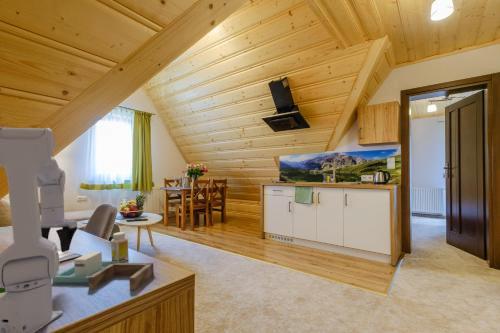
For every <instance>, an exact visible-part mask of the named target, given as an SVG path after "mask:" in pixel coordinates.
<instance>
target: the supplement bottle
mask: <svg viewBox="0 0 500 333" xmlns="http://www.w3.org/2000/svg"><path fill="white" fill-rule="evenodd" d="M128 239H129V238H128V237H127V236H126V232H124V231H118V232H115V233H113V235H112V239H111V240H110V247H111V248H110V249H111V252H110V253H111V261H119V263H125V262H126V261H127V260H129V240H128Z"/></svg>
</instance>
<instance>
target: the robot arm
mask: <svg viewBox="0 0 500 333" xmlns="http://www.w3.org/2000/svg"><path fill="white" fill-rule="evenodd" d="M55 151H56V136H55V133H54V131H53V130H52V129H51V128H50V127H46V128H33V127H32V128H30V127H4V126H0V167H1V168H4V170H5V174H6V177H7V178H6V179H7V187H8V198H9V199H8V200H9V205H10V206H9V208H10V209H9V210H10V217H11V227H12V236H13V243H12V244H11V245H9V246H8V247H6V248H5V249H3V250H2V251H1V252H0V288H2V289H4V292H5V294H3V295H2V296H1V297H0V333H36V332H38V331H39V330H41V329H42V328H43V327H45V326H46V325H48V324H49V323H51V322H53V321H54V320H55V319H57V318H58V317H60V316H61V315H62V314H63V311H62V310H54V309H53V288H52V286H53V285H52V284H53V281H52V280H53V278H55V276H56V275H58V274H59V271H60V255H59V252H58V247H57V246H58V245H56V242H54V241H53V240H50V239H49V237H50V236H49V235H50V230H51V228H52V229H53V228H54V229H55V228H57V229H56V230H55V231H56V234H57V236H58V238H59V242H60V243H59V244H60V251H61V253H66V252H67V251H69V250H70V247H71V243H72V241H73V240H72V239H73V238H74V235H75V233H76V232H77V230H78V220H75V219H71V220H70V219H67V218H65V195H64V192H65V189H66V188H65V184H66V173H65V169H63V170H62V169H61V168H60V167H59V165H58V162H57V160H56V159H55V158H54V157H53V155H54V153H55ZM39 197H40V198H39ZM58 228H59V229H58Z"/></svg>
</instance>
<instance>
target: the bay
mask: <svg viewBox="0 0 500 333" xmlns="http://www.w3.org/2000/svg"><path fill="white" fill-rule="evenodd" d="M154 272H155V271H154V262H120V263H112V264H110V265H108V266H107V267H105V268H103V269H101V270H100V271H98V272H96V273H95V274H93V275H91V276H90V277H88V279H89V284H88V290H95V289H97V288H98V287H99V286H101V285H102V284H103V285H104V284H105V283H106V282H107V281H109V280H110V279H111V278H113V277H114V276H116V277H117V276H119V277H120V276H121V277H123V276H124V277H126V276H127V277H128V278H129V291H136V290H137V289H138V288H139V287H140V286H142V285H143V284H145V283H146V282H147V280H148V279H150V278H151V277H152V276H153V275H154ZM129 276H130V277H129Z"/></svg>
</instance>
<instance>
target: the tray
mask: <svg viewBox="0 0 500 333" xmlns="http://www.w3.org/2000/svg"><path fill="white" fill-rule="evenodd" d="M112 263H119V261H112V260H102V268H101V269H103V268H105V267H107V266H108V265H110V264H112ZM101 269H100V270H101ZM100 270H98V271H100ZM98 271H96V272H98ZM96 272H95V273H96ZM95 273H93V274H95ZM93 274H91V275H93ZM91 275H89V276H75V268H74V266H72V267H70V268H68V269H66V270H63V271H62V272H60V273H58V274H57V275H56V276H55V278H52V284H54V285H55V284H57V285H59V284H61V285H62V284H63V285H89V279H88V277H90V276H91Z"/></svg>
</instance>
